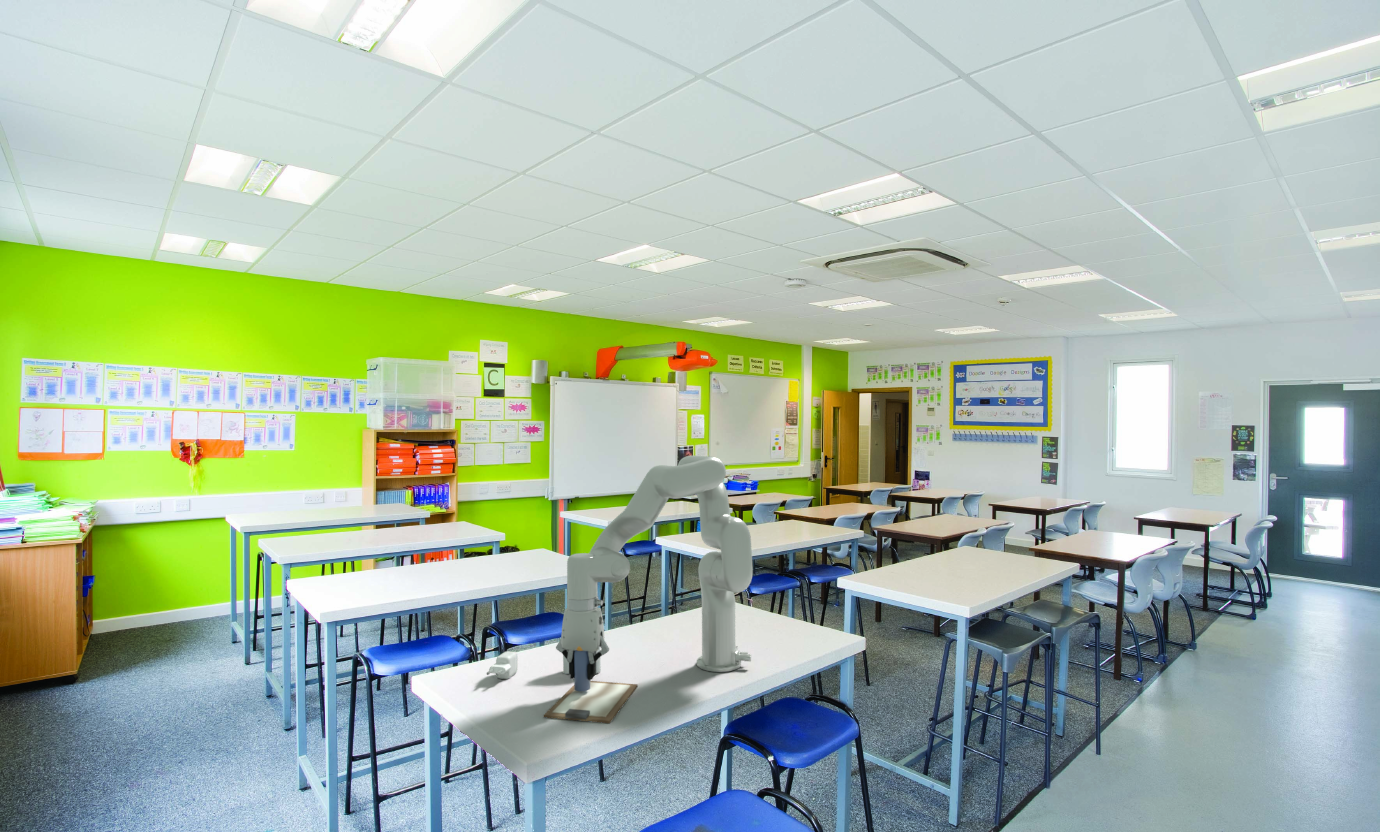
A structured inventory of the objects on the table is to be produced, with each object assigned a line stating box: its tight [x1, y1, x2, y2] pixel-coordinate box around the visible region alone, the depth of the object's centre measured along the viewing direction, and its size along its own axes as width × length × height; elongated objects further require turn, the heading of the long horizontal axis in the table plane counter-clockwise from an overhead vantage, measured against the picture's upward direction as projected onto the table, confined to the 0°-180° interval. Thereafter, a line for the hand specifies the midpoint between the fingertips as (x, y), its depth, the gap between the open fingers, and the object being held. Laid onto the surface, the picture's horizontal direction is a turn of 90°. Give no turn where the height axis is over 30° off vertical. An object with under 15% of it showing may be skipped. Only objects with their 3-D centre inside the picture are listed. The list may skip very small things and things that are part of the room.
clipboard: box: [543, 680, 638, 724], centre depth 160 cm, size 16×22×2 cm
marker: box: [573, 646, 591, 691], centre depth 164 cm, size 4×4×12 cm
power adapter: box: [486, 650, 519, 680], centre depth 175 cm, size 11×5×6 cm, turn 168°
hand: (582, 676), depth 164 cm, fingers closed on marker, 3 cm apart
